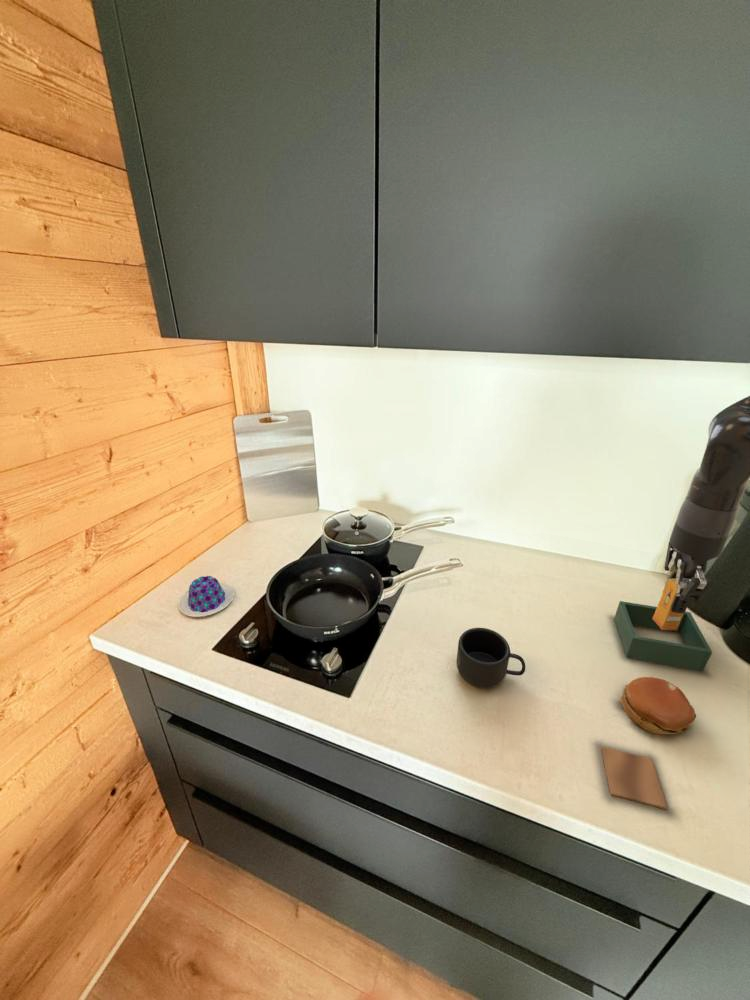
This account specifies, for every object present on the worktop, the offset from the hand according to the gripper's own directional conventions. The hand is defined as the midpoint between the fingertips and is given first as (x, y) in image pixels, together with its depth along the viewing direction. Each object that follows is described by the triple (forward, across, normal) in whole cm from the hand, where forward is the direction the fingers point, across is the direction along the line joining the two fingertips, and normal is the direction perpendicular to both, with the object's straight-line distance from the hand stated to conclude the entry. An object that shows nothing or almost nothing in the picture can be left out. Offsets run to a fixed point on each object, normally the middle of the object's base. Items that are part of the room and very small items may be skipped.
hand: (672, 603), depth 80 cm
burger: (+11, -17, +5) cm, 21 cm away
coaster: (+10, -30, +11) cm, 34 cm away
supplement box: (+5, 0, 0) cm, 5 cm away
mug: (+10, -17, +32) cm, 38 cm away
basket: (+10, 0, 0) cm, 10 cm away
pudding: (+9, -13, +95) cm, 97 cm away
